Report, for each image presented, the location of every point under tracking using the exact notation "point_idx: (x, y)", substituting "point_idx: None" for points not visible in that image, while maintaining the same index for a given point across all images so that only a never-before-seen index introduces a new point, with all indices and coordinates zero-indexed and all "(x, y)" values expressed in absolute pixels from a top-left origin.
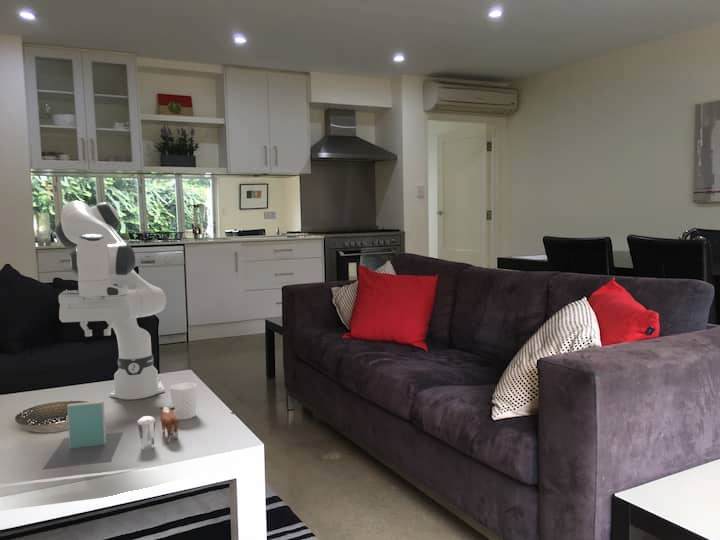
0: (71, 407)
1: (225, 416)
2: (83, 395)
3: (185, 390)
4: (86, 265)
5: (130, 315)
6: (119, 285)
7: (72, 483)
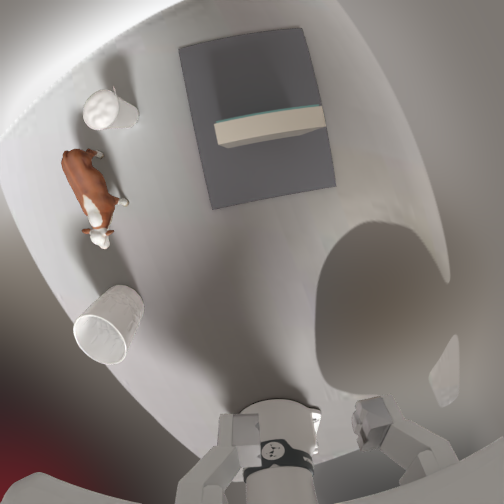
0: (307, 106)
1: (57, 290)
2: None
3: (83, 313)
4: None
5: (11, 486)
6: None
7: None
